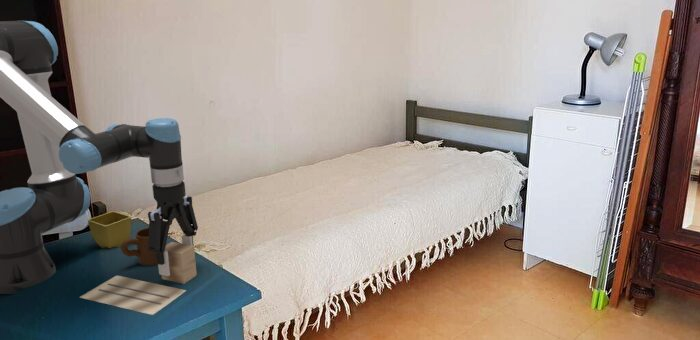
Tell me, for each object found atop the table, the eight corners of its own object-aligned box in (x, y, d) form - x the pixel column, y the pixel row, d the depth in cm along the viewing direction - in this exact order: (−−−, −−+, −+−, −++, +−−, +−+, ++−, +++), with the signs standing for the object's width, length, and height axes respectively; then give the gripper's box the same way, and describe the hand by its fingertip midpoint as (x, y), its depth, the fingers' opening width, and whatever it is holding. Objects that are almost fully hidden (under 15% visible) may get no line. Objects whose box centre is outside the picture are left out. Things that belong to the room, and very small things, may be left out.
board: (79, 301, 130) (79, 297, 130) (117, 279, 141) (116, 275, 141) (153, 319, 123) (152, 314, 122) (187, 294, 133) (186, 290, 133)
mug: (130, 277, 142) (125, 244, 139) (118, 268, 147) (114, 236, 145) (173, 263, 150) (169, 231, 147) (160, 255, 155) (157, 224, 153)
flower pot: (135, 244, 163) (132, 216, 160) (109, 255, 155) (105, 225, 153) (117, 238, 167) (113, 210, 165) (90, 248, 160) (86, 219, 157)
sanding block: (162, 281, 139) (158, 249, 137) (175, 273, 143) (171, 241, 141) (184, 286, 136) (181, 253, 134) (197, 278, 141) (194, 246, 138)
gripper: (150, 197, 122) (160, 288, 128) (207, 172, 141) (214, 252, 147) (123, 194, 124) (135, 283, 131) (183, 169, 144) (191, 247, 150)
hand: (177, 266), depth 139 cm, fingers open, 9 cm apart
